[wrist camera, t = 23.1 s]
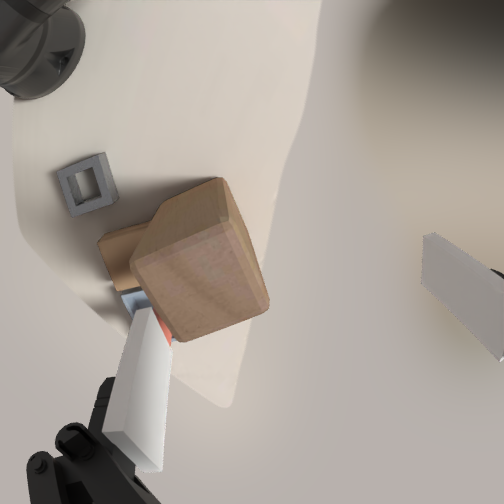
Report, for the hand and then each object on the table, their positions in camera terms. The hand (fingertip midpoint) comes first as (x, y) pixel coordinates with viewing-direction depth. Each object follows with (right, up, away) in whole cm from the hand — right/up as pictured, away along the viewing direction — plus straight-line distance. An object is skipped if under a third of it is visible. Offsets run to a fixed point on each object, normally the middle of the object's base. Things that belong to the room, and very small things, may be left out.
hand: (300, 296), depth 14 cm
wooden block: (-9, +7, +31) cm, 33 cm away
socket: (-25, +12, +26) cm, 38 cm away
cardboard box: (-19, +2, +32) cm, 37 cm away
